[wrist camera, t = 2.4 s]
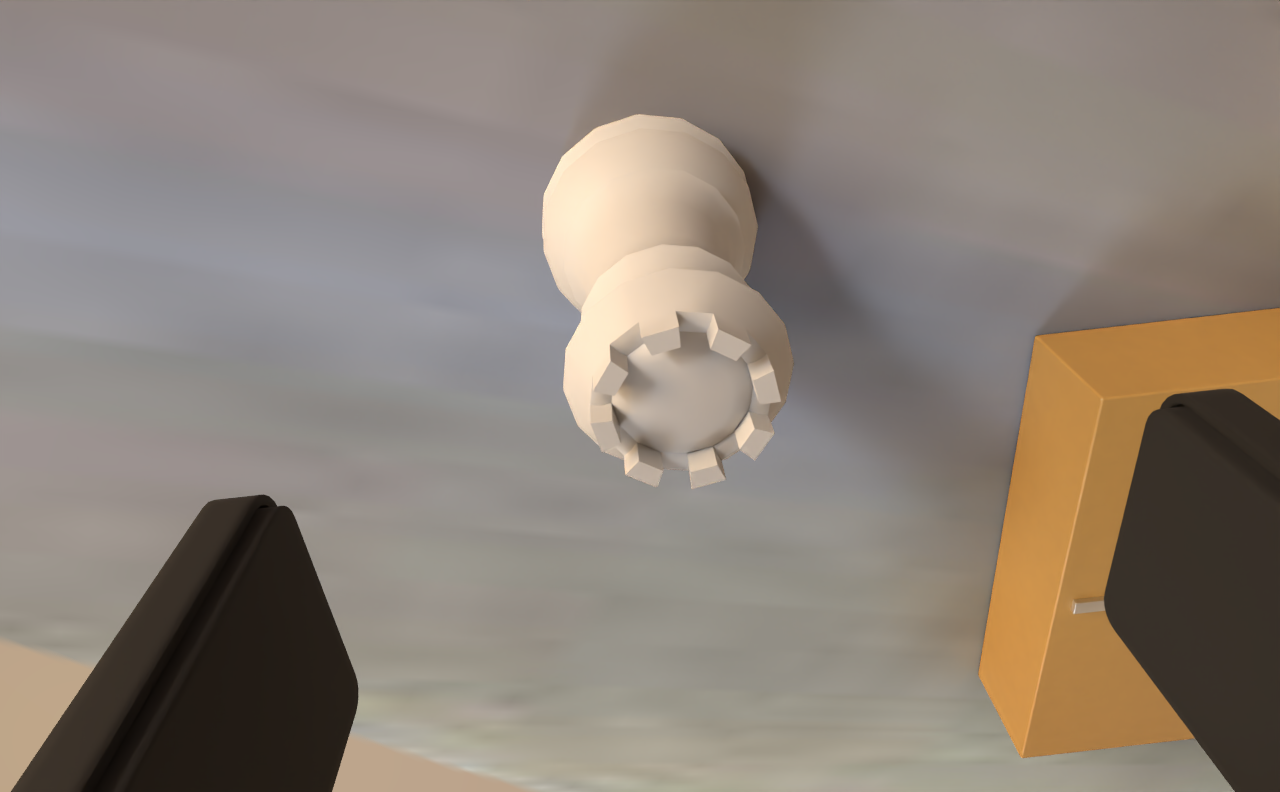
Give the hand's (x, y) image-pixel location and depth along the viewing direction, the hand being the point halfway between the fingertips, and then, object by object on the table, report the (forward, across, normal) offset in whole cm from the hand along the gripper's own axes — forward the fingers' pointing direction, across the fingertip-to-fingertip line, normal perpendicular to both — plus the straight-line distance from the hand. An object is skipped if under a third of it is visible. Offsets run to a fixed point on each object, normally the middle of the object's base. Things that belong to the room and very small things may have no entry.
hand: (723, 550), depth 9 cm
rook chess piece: (+10, 0, -1) cm, 10 cm away
